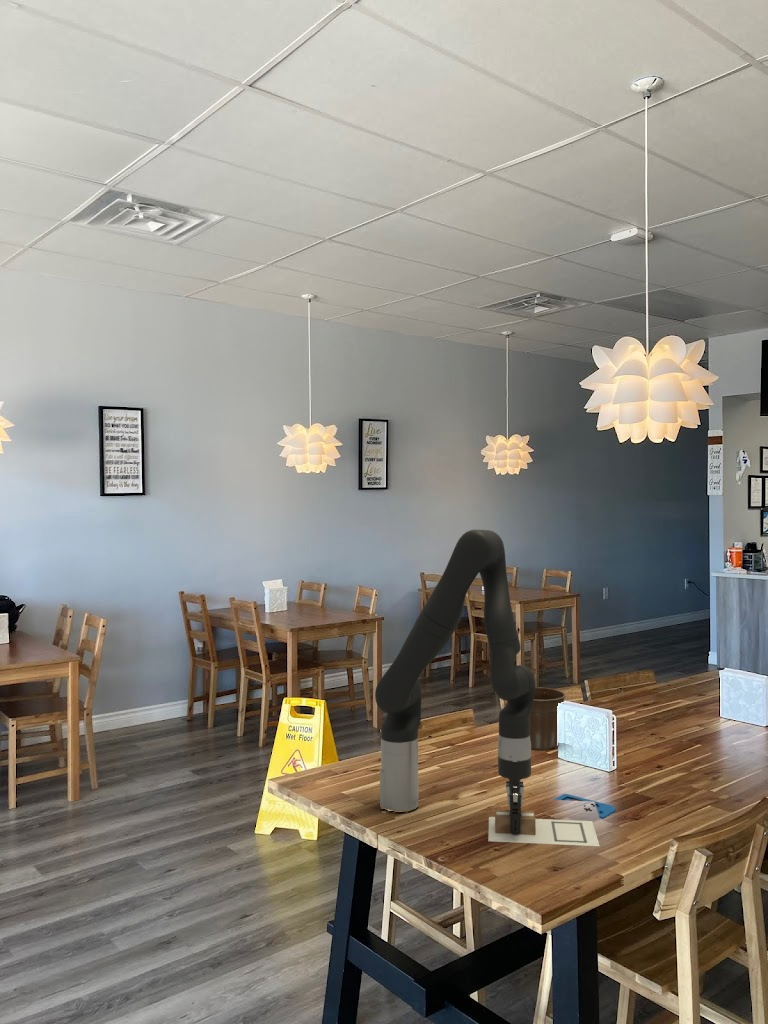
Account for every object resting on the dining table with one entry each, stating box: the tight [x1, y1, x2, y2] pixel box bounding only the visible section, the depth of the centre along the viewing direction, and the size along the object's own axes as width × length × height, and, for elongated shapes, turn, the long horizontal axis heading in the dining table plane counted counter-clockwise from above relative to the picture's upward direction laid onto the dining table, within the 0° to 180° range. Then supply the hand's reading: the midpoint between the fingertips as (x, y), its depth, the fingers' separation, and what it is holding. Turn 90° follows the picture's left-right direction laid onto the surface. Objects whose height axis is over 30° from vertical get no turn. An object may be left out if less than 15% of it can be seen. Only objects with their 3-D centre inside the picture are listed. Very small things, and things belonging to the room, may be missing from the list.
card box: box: [494, 809, 536, 835], centre depth 186 cm, size 9×5×4 cm, turn 82°
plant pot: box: [530, 686, 566, 751], centre depth 253 cm, size 16×16×16 cm
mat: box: [487, 816, 600, 847], centre depth 185 cm, size 24×14×1 cm, turn 82°
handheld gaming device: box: [552, 793, 616, 820], centre depth 201 cm, size 8×1×15 cm
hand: (515, 827), depth 186 cm, fingers closed on card box, 5 cm apart
